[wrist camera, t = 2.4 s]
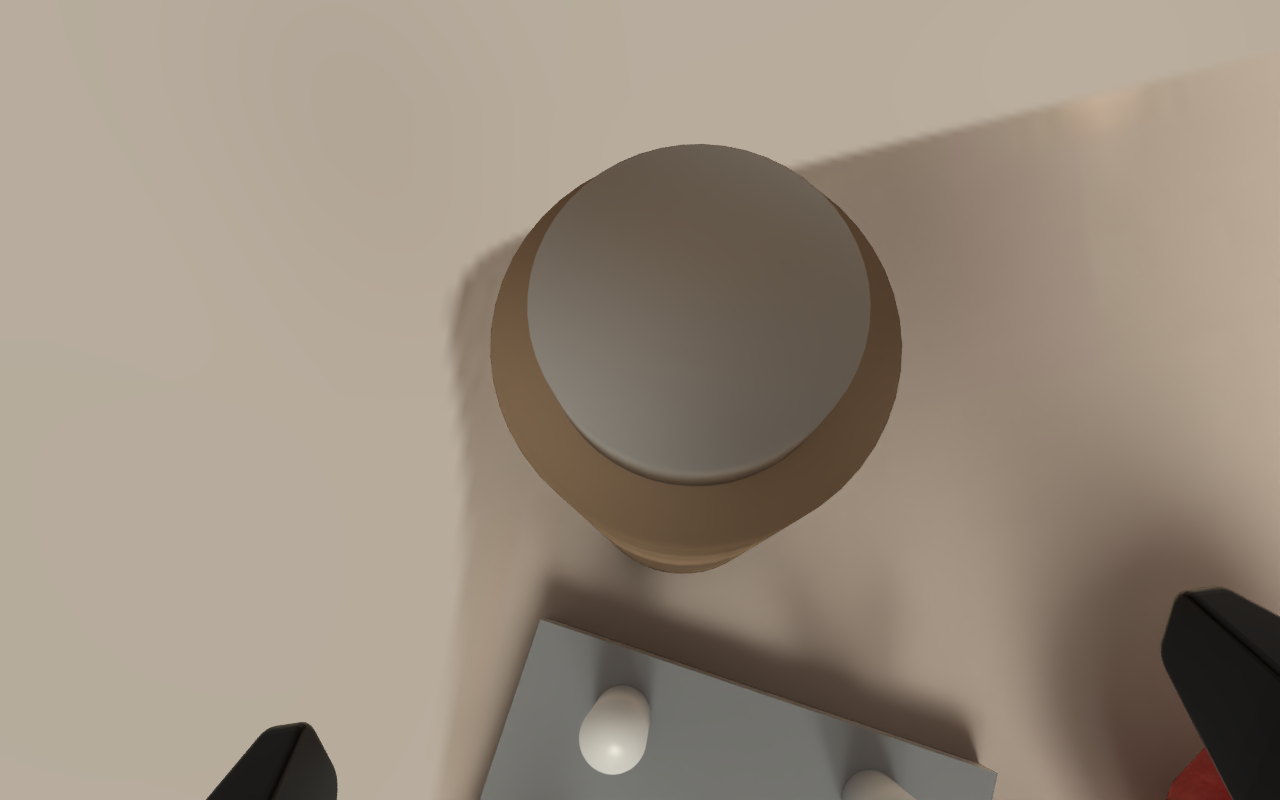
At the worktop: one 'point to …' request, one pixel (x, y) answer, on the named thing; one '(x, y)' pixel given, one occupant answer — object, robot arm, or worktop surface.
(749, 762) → the pin tray
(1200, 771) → the pomegranate
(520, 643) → the worktop surface
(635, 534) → the pepper mill
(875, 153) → the worktop surface
